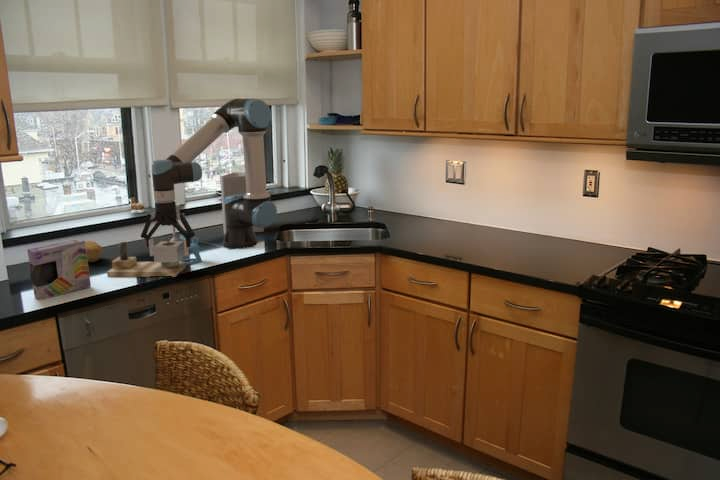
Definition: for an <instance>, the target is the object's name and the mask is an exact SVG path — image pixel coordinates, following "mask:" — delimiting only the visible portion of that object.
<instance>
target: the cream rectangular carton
mask: <svg viewBox="0 0 720 480" xmlns="http://www.w3.org/2000/svg"><path fill="white" fill-rule="evenodd" d="M220 191H221V193H220V195H221V206H222V207H221V208H222V209H221V210H222V211H221V212H222V223H223V224H222V225H223V234H224V235H225V232H226V215H225V206H224V205H225V198H226V197H227V196H230V195H237V194H246V178H245V172H231V173H228V174H223V175H221V176H220ZM264 229H265V227H264V228H262V227H255V226H253V230H254V233H261V232H263V233H264Z"/></svg>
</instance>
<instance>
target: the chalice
mask: <svg viewBox="0 0 720 480" xmlns="http://www.w3.org/2000/svg"><path fill="white" fill-rule="evenodd" d="M175 203H176V202H175ZM180 206H181V203H176V213H177V214H181V213H180ZM176 220H177V221H178V222H179V220H180V219H179V218H178V217H177V219H176ZM171 227H172V228H171V230H172V238H171V239H170V241H180V238H178V237H177V236H176V234H177V232H176V228H175V227H174V226H173V225H171Z"/></svg>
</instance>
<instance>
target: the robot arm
mask: <svg viewBox="0 0 720 480" xmlns="http://www.w3.org/2000/svg"><path fill="white" fill-rule="evenodd" d="M210 117H211V118H210V119H209V120H208V121H207V122H206V123H205V124H203V126H201V127H200V128H199V129H198V130H197V131H196V132H194V133H193V134H192V135H191V136H190V137H189V138H188V139H187V140H186V141H184V142H183V144H181V145H180V146H179V147H178V148H177V149H175V151H173V153H171V154H170V155H169V156H168V157H167V158H165V159H157V160H153V161H152V162H151V176H152V188H153V199H154V208H155V209H154V211H155V213H152V212H150V213H148V214H147V215H146V222H145V225H144V227H143V228H142V229H143V230H142V232H141V234H140V238H142V239H145V243H146V247H147V248H149V249H148V251H149V257H154V253H153V247H154V246H155V245H154V238H153V237H152V236H153V235H154V234H155V232H156V231H157V230H158V229H159V227H160V226H172V225H173V226H174V227H175V230H177V231H178V232H179V233H180V235H183V236H184V237H185V239H184V250H185V256H184V257H188V256H189V255H190V250H189V248H188V247H190V246H191V243H192V242H191V239H190V238H192V237H194V236H196V234H195V232H194V230H193V228H192V227H191V225H190V224H189V222H188V220H187V219H186V214H185V212H182V213H180V214H177V213H176V201H175V200H176V193H175V185H177V184H185V183H186V184H187V183H194V182H195V183H196V182H199V181H200V180H201V179H202V176H203V169H202V167H201V165H200V163H198V162H196V161H195V159H196V158H197V157H199V156H200V155H201V154H202V153H203V152H204V151H205V150H206V149H207V148H209V146H211V145H212V144H213V143H215V141H216V140H217V139H218V138H219V137H220V136H221V135H223V134H226V133H228V132H230V131H231V130H233V129H235V128H237V130H238V133H239V134H240V135H241V136H242V143H243V144H242V145H243V146H242V149H243V162H244V173H245V178H246V194H237V195H230V196H227V197H226V198H225V205H224V206H225V215H226V232H225V234H224V237H223V242H222V243H223V244H222V245H223V247H224V248H226V249H234V250H236V249H237V250H241V249H248V248H253V247H255V246H257V245H258V238H257V236H256V232H254V230H253V226H255V227H262V228H264V229H265V228H267V227H269V226H271V225H272V224H273V223H274V221H276V218H277V215H278V210H277V205H276V204H274V202H272V201H271V199H272V198H271V194H270V193H269V192H268V191H267V177H266V159H265V146H264V145H265V143H264V142H265V141H264V135H265V134H266V133H267V127H268V126H269V124H270V123H271V121H272V111H271V109H270V106H269V105H268V104H267V102H265V101H264V100H262V99H259V98H254V97H253V98H234V99H231V100H229V101H227V102H226V103H224V104H223V105H222V106H219V108H218V109H217V110H215V112H213V113H212V114H211V116H210ZM177 217H178V218H179V219H178V221H177V220H176V219H177ZM154 219H155V220H156V223H155V224H154V226H153V227H152V228H151V229H150V226H151V224H152V222H153V220H154ZM179 220H180V221H181V223H182V225H183V226H182V225H181V224H180V223H179ZM173 226H172V227H173ZM149 229H150V231H149Z"/></svg>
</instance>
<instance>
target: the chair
mask: <svg viewBox="0 0 720 480" xmlns="http://www.w3.org/2000/svg"><path fill="white" fill-rule="evenodd" d="M195 236H196V235H195ZM195 236H194V237H192V238H190V240H191V242H190V243H191V246H190V247H188V248H189V251H191V252H192V253H193V255H194V257H195V258H193V257H192V258H182V259H181V260H180V261H179V262H186V266H189V265H194V264H198V263H202V261H203V260H202V257H201V255H200V252H199V249H201V247H200V245H199V244H198V243H199V237H195ZM184 239H185V237H184V236H183V235H182V234H180V236H179V241H184Z"/></svg>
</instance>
